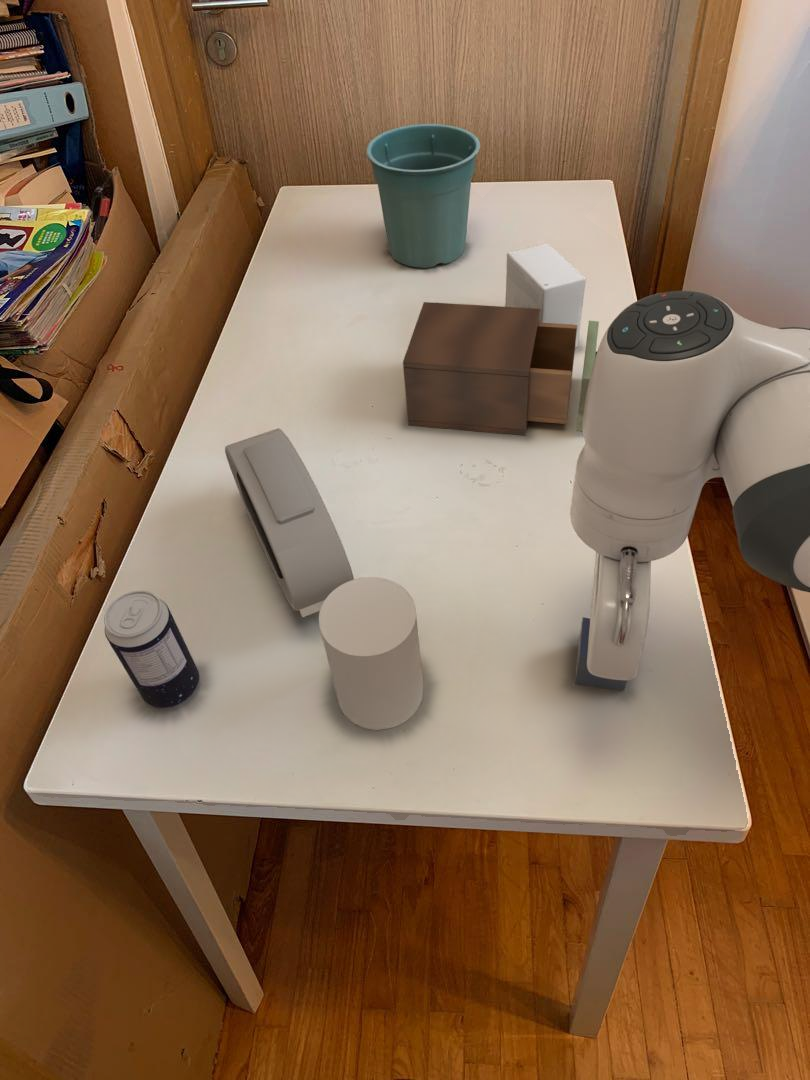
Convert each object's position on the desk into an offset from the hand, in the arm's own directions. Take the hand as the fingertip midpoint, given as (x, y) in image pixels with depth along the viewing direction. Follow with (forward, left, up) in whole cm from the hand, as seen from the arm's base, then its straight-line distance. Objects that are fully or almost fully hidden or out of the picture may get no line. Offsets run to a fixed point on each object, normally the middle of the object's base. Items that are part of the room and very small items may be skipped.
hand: (608, 614), depth 71 cm
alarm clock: (+33, -9, -9) cm, 35 cm away
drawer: (+8, -38, -7) cm, 39 cm away
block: (0, 0, -8) cm, 8 cm away
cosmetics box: (+11, -53, -9) cm, 55 cm away
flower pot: (+31, -74, -9) cm, 81 cm away
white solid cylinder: (+20, +6, -9) cm, 22 cm away
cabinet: (+18, -38, -8) cm, 43 cm away
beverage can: (+40, +9, -9) cm, 42 cm away
